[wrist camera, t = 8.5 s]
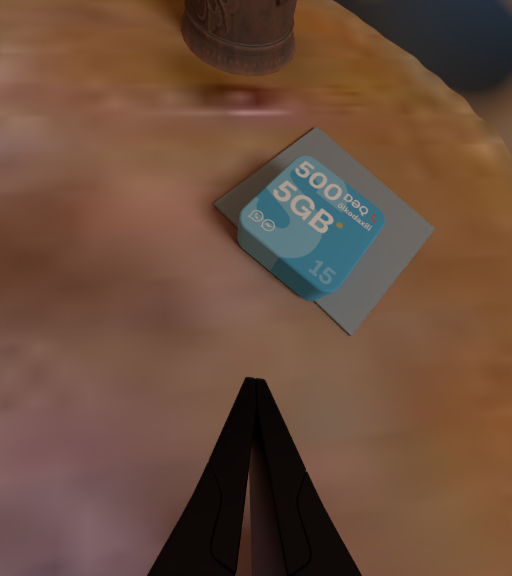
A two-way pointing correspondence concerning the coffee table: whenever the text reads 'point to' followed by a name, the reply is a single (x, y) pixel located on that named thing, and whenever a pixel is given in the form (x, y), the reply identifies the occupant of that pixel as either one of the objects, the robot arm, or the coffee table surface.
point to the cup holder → (241, 34)
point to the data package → (309, 228)
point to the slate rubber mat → (383, 250)
